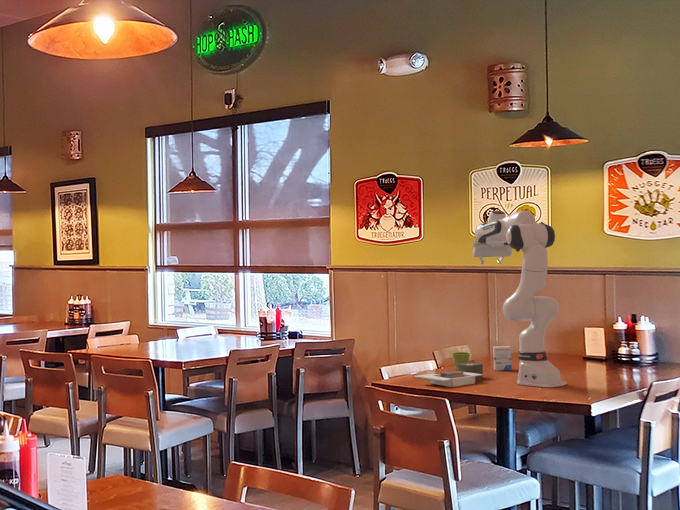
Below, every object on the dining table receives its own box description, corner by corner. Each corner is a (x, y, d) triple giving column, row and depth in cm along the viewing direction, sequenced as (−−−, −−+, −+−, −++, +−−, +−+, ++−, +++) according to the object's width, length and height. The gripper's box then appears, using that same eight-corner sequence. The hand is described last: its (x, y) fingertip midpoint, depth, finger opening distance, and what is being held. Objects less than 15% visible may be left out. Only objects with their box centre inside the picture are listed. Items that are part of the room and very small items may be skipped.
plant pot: (465, 372, 402) (465, 354, 402) (448, 370, 408) (448, 353, 408) (474, 369, 410) (473, 352, 410) (457, 368, 416) (457, 351, 416)
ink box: (510, 369, 410) (510, 345, 410) (511, 370, 405) (511, 346, 405) (493, 369, 411) (493, 346, 411) (494, 370, 406) (493, 347, 406)
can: (483, 376, 389) (483, 361, 389) (482, 379, 377) (482, 365, 377) (458, 375, 391) (458, 361, 391) (456, 379, 379) (456, 365, 379)
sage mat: (448, 377, 386) (448, 376, 386) (430, 380, 379) (430, 378, 379) (432, 374, 396) (431, 373, 396) (413, 377, 389) (413, 376, 389)
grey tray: (483, 382, 370) (483, 374, 370) (443, 388, 355) (443, 380, 355) (460, 378, 382) (460, 371, 382) (421, 384, 367) (420, 376, 367)
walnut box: (463, 382, 369) (463, 371, 369) (447, 385, 364) (447, 373, 364) (456, 381, 373) (456, 370, 373) (440, 383, 367) (440, 372, 367)
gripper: (476, 243, 409) (472, 266, 416) (514, 242, 412) (510, 265, 419) (472, 237, 415) (469, 261, 421) (510, 236, 418) (506, 260, 424)
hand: (490, 263), depth 420 cm, fingers open, 8 cm apart
